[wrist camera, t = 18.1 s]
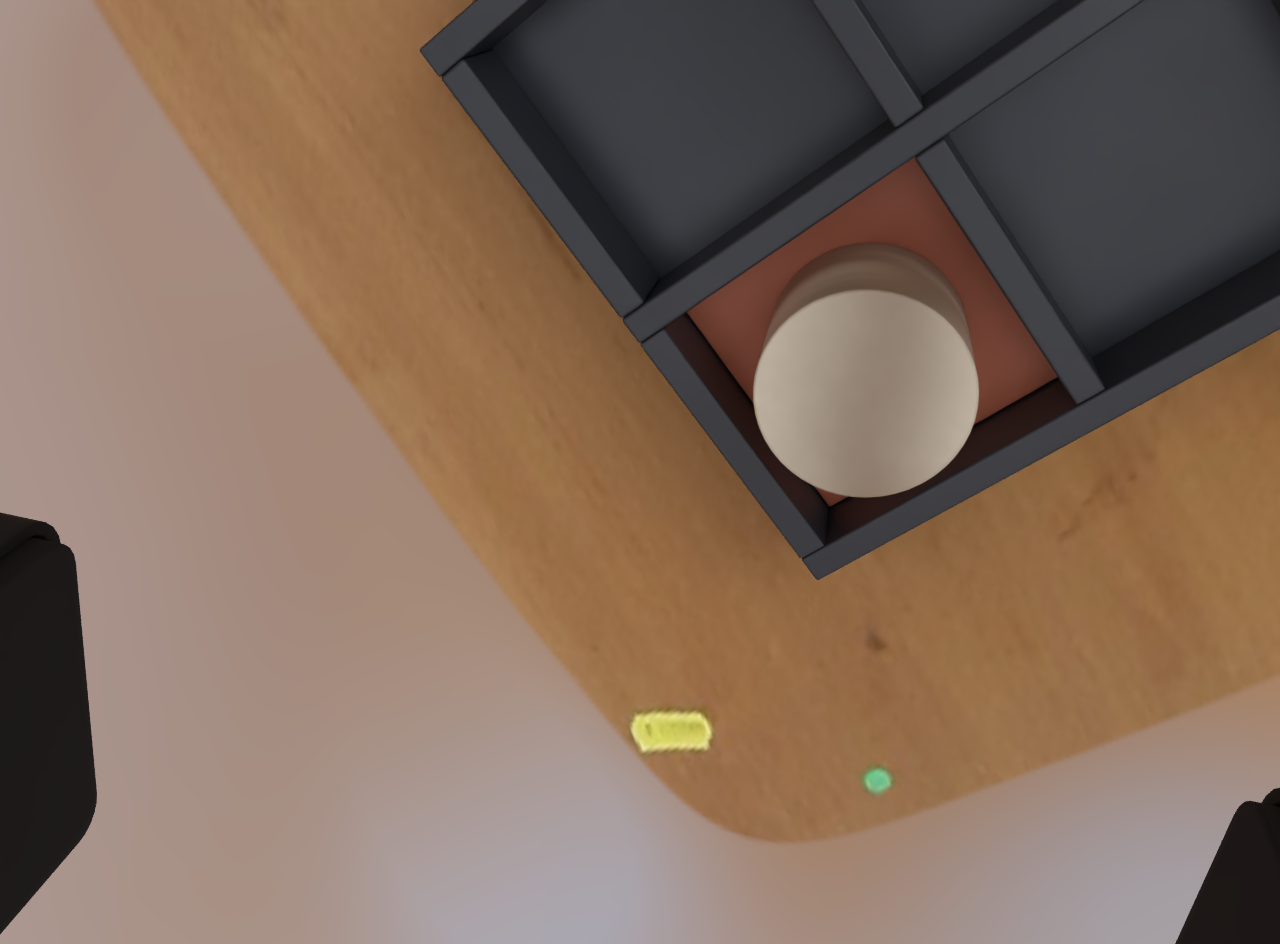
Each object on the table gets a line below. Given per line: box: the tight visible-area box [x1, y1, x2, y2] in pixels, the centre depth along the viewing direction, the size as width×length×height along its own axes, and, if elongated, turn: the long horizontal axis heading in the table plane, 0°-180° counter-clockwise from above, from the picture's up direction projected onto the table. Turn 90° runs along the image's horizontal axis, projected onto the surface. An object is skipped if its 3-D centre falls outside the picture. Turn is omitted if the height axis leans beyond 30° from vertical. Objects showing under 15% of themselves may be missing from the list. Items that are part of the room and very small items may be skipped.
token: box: [753, 243, 979, 498], centre depth 27 cm, size 5×5×4 cm
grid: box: [420, 0, 1280, 580], centre depth 26 cm, size 15×15×3 cm
